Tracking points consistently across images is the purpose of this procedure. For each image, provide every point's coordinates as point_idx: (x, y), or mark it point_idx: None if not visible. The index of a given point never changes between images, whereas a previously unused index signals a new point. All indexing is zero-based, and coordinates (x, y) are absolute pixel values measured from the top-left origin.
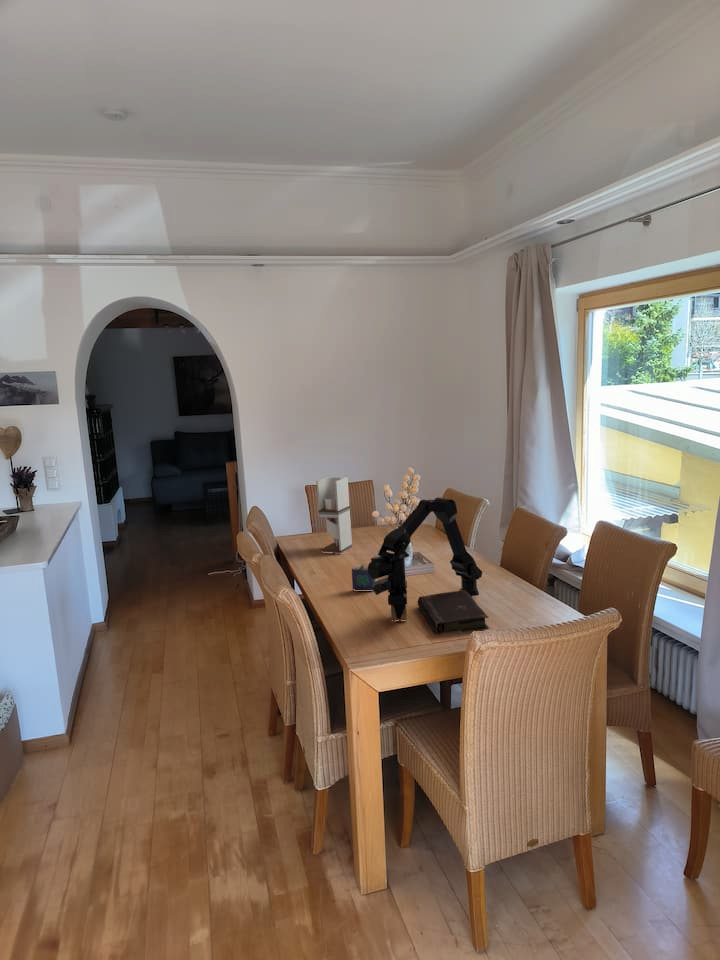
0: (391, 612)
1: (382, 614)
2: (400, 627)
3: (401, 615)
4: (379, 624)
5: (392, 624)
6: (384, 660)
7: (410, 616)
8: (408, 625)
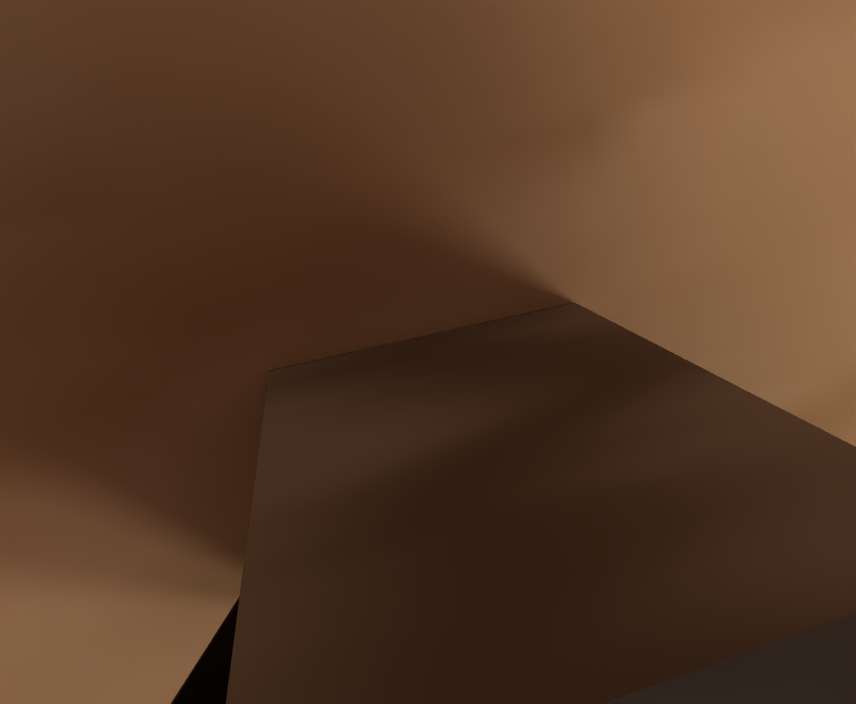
0: (255, 515)
1: (696, 54)
2: (10, 611)
3: None
4: (30, 86)
5: (132, 419)
6: None
7: None
8: (164, 695)
